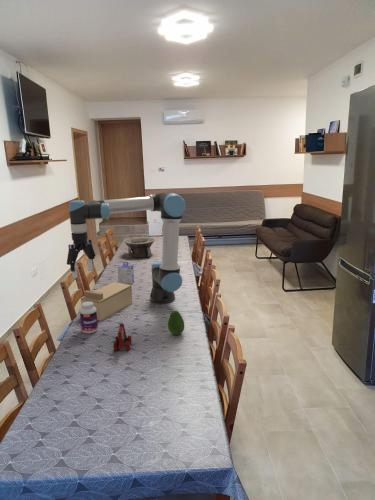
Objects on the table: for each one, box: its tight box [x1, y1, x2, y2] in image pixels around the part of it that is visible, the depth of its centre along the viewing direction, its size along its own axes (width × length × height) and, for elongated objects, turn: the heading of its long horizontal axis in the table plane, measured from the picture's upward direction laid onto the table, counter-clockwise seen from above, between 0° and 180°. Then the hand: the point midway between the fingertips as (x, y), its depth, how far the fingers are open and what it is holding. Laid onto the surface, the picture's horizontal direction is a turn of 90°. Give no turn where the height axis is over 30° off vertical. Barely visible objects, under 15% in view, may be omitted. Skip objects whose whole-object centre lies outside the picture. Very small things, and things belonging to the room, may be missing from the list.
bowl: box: [123, 236, 156, 259], centre depth 320 cm, size 27×26×15 cm
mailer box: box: [80, 286, 133, 322], centre depth 206 cm, size 13×28×10 cm, turn 153°
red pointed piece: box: [113, 322, 133, 352], centre depth 165 cm, size 7×12×10 cm, turn 2°
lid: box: [80, 281, 132, 303], centre depth 205 cm, size 13×28×4 cm, turn 153°
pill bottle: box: [79, 302, 99, 334], centre depth 180 cm, size 8×8×14 cm
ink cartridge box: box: [117, 261, 135, 285], centre depth 250 cm, size 10×6×14 cm, turn 85°
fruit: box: [167, 310, 185, 336], centre depth 175 cm, size 8×8×12 cm
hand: (82, 274), depth 187 cm, fingers open, 11 cm apart
